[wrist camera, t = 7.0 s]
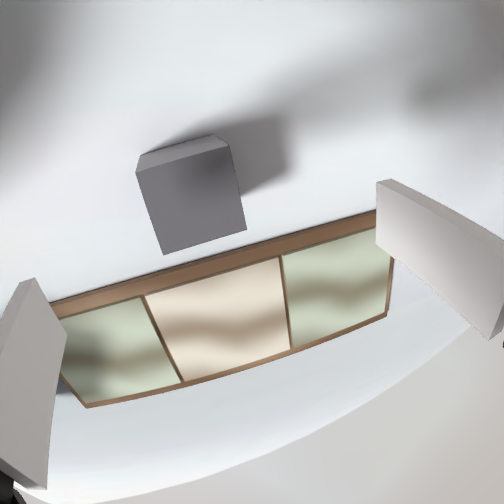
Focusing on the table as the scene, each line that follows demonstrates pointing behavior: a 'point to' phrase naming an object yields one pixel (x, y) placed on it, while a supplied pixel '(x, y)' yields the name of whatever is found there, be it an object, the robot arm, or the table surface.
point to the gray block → (191, 193)
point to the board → (223, 312)
